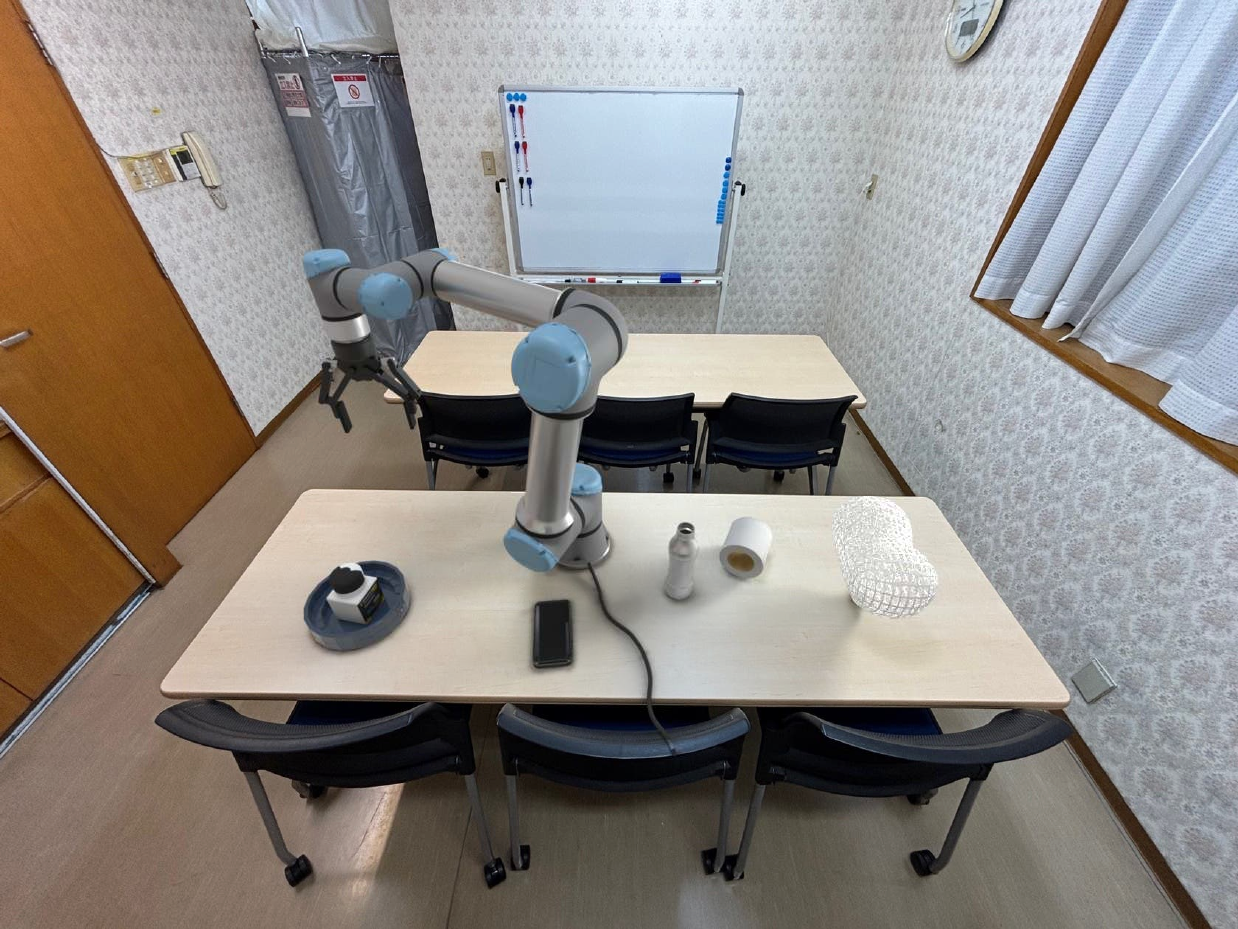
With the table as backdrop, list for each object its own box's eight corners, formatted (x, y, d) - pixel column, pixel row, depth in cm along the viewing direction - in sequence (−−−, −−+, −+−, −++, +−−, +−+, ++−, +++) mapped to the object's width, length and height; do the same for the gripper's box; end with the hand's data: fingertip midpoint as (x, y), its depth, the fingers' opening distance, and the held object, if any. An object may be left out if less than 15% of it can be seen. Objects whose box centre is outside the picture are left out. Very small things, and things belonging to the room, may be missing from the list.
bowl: (426, 611, 109) (421, 597, 106) (333, 670, 98) (324, 656, 95) (386, 561, 120) (380, 547, 117) (298, 609, 109) (289, 595, 106)
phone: (532, 665, 98) (534, 601, 110) (533, 668, 99) (535, 604, 111) (573, 661, 99) (571, 598, 111) (573, 664, 100) (571, 602, 112)
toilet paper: (728, 541, 127) (734, 511, 121) (768, 554, 123) (776, 524, 117) (716, 569, 120) (722, 539, 113) (758, 583, 116) (767, 554, 110)
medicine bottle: (367, 625, 106) (349, 588, 98) (336, 619, 107) (316, 582, 100) (386, 598, 111) (370, 561, 104) (357, 592, 112) (339, 555, 105)
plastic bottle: (696, 585, 116) (706, 522, 103) (686, 608, 111) (696, 544, 99) (669, 576, 118) (676, 513, 106) (659, 597, 113) (665, 534, 101)
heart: (917, 660, 101) (964, 589, 88) (837, 653, 102) (872, 582, 89) (874, 555, 123) (907, 485, 110) (809, 550, 125) (834, 481, 111)
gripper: (420, 325, 102) (442, 415, 115) (290, 330, 100) (327, 421, 113) (413, 341, 96) (437, 434, 109) (274, 346, 94) (315, 441, 107)
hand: (381, 428), depth 111 cm, fingers open, 13 cm apart
